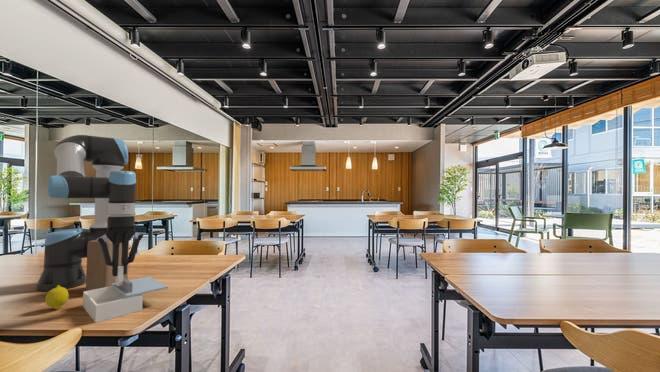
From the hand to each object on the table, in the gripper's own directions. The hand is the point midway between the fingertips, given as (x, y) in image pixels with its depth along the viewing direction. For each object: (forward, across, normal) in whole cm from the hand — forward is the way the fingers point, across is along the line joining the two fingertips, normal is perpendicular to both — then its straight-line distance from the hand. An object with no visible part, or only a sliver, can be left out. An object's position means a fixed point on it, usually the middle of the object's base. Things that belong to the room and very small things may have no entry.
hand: (119, 284), depth 95 cm
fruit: (+8, -14, +13) cm, 20 cm away
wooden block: (+8, +2, +26) cm, 27 cm away
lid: (+2, +6, 0) cm, 6 cm away
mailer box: (+7, -2, 0) cm, 8 cm away
